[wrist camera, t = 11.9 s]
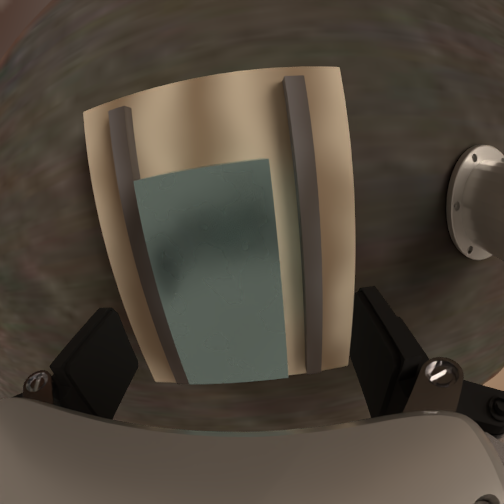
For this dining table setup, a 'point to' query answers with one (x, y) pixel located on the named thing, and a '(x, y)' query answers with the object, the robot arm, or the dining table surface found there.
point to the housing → (218, 269)
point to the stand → (229, 150)
